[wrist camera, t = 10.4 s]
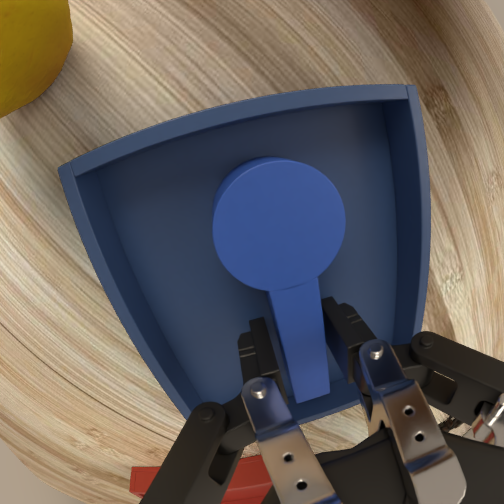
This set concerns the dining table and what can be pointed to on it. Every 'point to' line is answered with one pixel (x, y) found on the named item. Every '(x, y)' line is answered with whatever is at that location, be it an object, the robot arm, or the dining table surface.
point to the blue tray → (201, 241)
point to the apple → (31, 48)
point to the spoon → (283, 254)
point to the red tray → (238, 492)
